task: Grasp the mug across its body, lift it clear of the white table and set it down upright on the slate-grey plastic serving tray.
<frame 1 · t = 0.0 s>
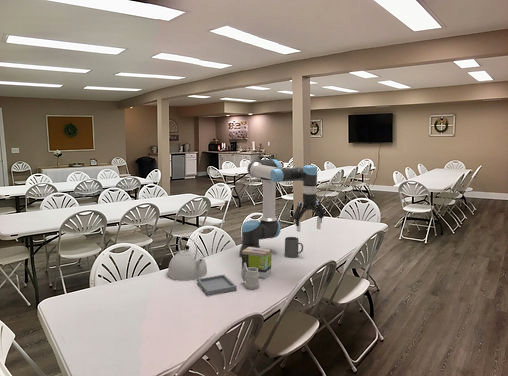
hand: (308, 230, 217), 28 cm above the table, fingers open, 13 cm apart
mug 2: (294, 256, 258), on the table
tea box: (256, 274, 226), on the table
mug: (249, 286, 209), on the table
kettle: (188, 274, 226), on the table
tray: (216, 286, 207), on the table
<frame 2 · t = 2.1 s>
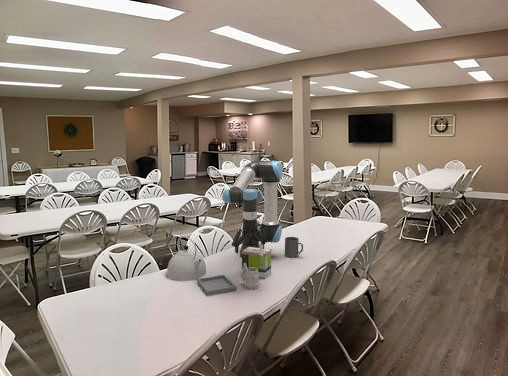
hand: (249, 257, 206), 16 cm above the table, fingers open, 13 cm apart
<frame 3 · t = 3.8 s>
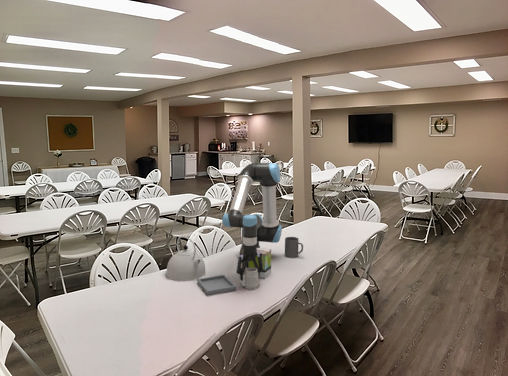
hand: (249, 284, 208), 1 cm above the table, fingers closed on mug, 7 cm apart
mug: (248, 286, 208), on the table, touching gripper
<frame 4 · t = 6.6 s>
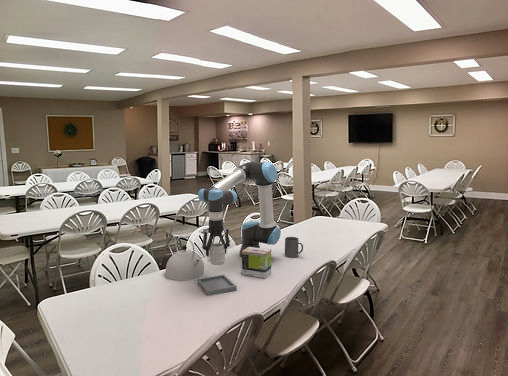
hand: (216, 260, 204), 15 cm above the table, fingers closed on mug, 7 cm apart
mug: (215, 262, 204), point 14 cm above the table, touching gripper
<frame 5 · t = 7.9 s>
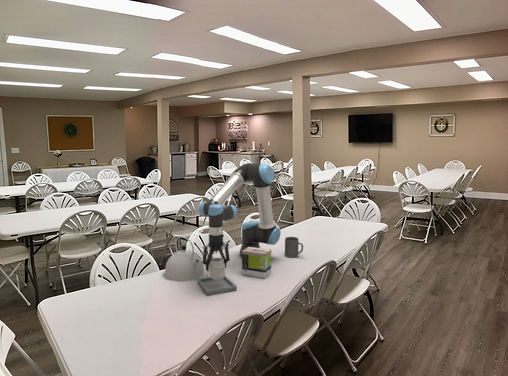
hand: (216, 275, 206), 7 cm above the table, fingers closed on mug, 7 cm apart
mug: (215, 276, 205), point 6 cm above the table, touching gripper
when the fingers open (3 cm above the table, at t = 9.0 s): mug drops 1 cm, resting on tray.
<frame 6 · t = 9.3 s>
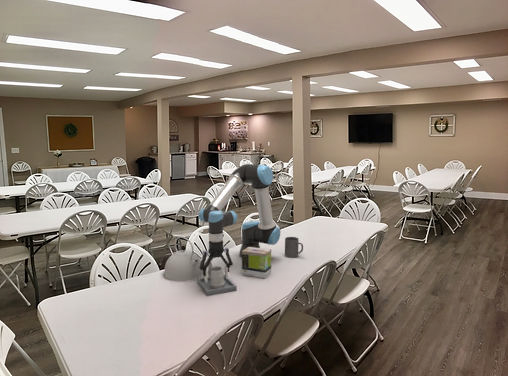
hand: (216, 279, 206), 4 cm above the table, fingers open, 11 cm apart
mug: (215, 285, 206), point 1 cm above the table, touching tray
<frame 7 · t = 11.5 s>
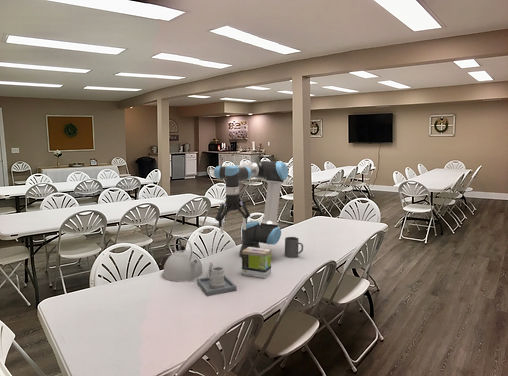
hand: (233, 230, 215), 28 cm above the table, fingers open, 13 cm apart
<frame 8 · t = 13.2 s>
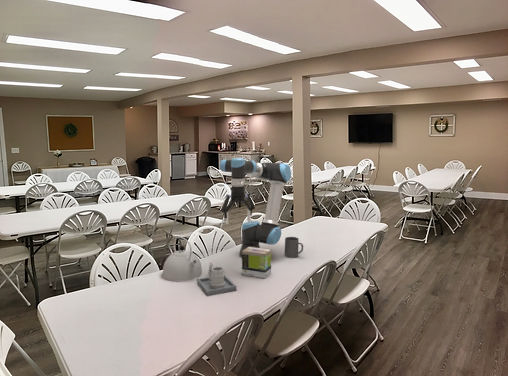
hand: (238, 222, 218), 32 cm above the table, fingers open, 13 cm apart
at the end: mug inside the target area on the tray (0.5 cm from its centre), point 0.8 cm above the tray's base; mug tilted 0°; the gripper is holding nothing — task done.
